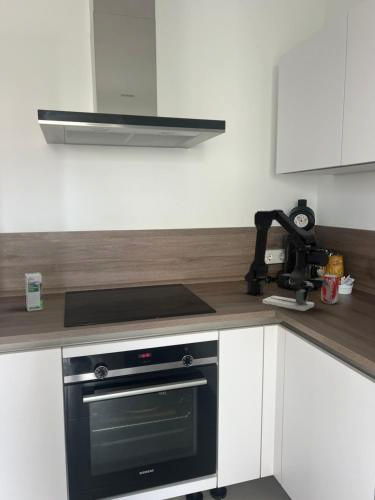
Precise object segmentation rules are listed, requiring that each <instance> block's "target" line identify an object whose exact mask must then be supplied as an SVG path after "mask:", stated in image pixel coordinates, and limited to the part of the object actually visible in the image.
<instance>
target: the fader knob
mask: <svg viewBox="0 0 375 500" xmlns="http://www.w3.org/2000/svg"><path fill="white" fill-rule="evenodd" d="M304 297H305V289H300V290H298V291H296V296H295V299H296V303H298V304H304V303H306V302H308V300H307V301H304Z"/></svg>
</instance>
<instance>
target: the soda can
mask: <svg viewBox="0 0 375 500" xmlns="http://www.w3.org/2000/svg"><path fill="white" fill-rule="evenodd" d="M338 277H339V276H338V275H336V274H324V275H323V277H322V278H323V279H326V280H327V286H325V287H322V288H321V289H320V291H321V292H320V294H321V295H320V297H321V298H320V300H321V301H322V302H323V304H329V305H332V304H333V305H335V304H336V303H338V300H339V292H340V291H339V290H340V288H339V287H340V280H339V278H338Z"/></svg>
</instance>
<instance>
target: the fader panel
mask: <svg viewBox="0 0 375 500" xmlns="http://www.w3.org/2000/svg"><path fill="white" fill-rule="evenodd" d="M262 304H265V305H270V304H271V306H275V305H276V307H281V308H282V307H283V308H286V309H291V310H297V311H301V312H305V311H307V310H309V309H311V308H314V306H315V302H311V301H307V302H306V303H304V304H298V303H296V298H289V297H283V296H280V295H279V296H277V295H271V296H269V297H266V298H264V299H262Z"/></svg>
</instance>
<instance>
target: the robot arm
mask: <svg viewBox="0 0 375 500" xmlns="http://www.w3.org/2000/svg"><path fill="white" fill-rule="evenodd" d="M253 219H254V221H253V222H254V226H255V228H256V238H255V249H254V257H253V261H251V263H250V265H249V270H248V272H247V273H246V274H245V275H244V276H243V277H244V282H247V286H246V287H247V290H246V292H245V294H248V295H253V296H260V295H263V294H264V284H263V282H264V281H266V278H267V276H268V274H269V269H270V266H269V264H267V262H266V252H267V242H268V233H269V232H268V231H269V230H270V228H271V227H272V225H273V221H275V222H277V224H278V225H280V227H282V228H283V229H284V230H285V231H286V232H287V233H288V234H289V236H290V237H291V241H292V243H293V244H294V245H295V247H294V248H293V249H292V252H293V253H296V255H295V256H296V260H295V265H294V269H293V271H292V272H291V273H282V274H280V275H279V276H278V277H279V278H278V281H279V282H280V283H281V282H282V283H287V282H288V283H287V284H288V286H291V287H292V290H293V291H294V292H293V293H294V296H295V297H296V291H298V290H300V288H301V284H302V283H304V284H306V285H304V290H305V297H304V301H307V302H308V298H309V296H310V294H311V292H312V290H313V289H314V288H321V289H322V287H325V286H327V280H326V279H323V277H322V278H321V277H316V278H314V279H313V278H312V276H311V269H312V266H315V267H320V268H325V267H327V266H328V264H329V262H330V258H329V255H328V253H327V250H326V249H320V247H319V246H318V244H317V242H316V241H315V236H314V235H313V234H312V233H310V232H309V231H307V230H305V229H303V228H301V227H299V226H298V224H297V223H295V221H294V220H292V219H291V218H290V217H289V216H288V215H287V214H286V213H285V212H284V210H282V209H273V210H272V209H271V210H257V211H256V212H255V213H254V214H253Z"/></svg>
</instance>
